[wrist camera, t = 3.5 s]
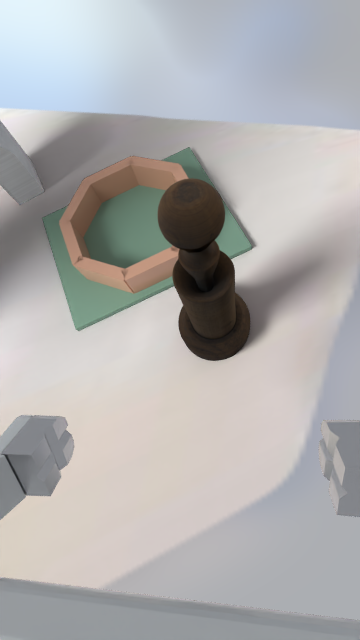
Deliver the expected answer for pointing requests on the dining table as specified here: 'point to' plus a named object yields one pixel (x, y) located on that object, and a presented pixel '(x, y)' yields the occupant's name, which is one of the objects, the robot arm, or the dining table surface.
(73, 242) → the pink octagonal ring
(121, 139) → the dining table surface
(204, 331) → the brown wooden chess piece
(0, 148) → the tea bag
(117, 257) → the green mat
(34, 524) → the dining table surface
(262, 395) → the dining table surface
